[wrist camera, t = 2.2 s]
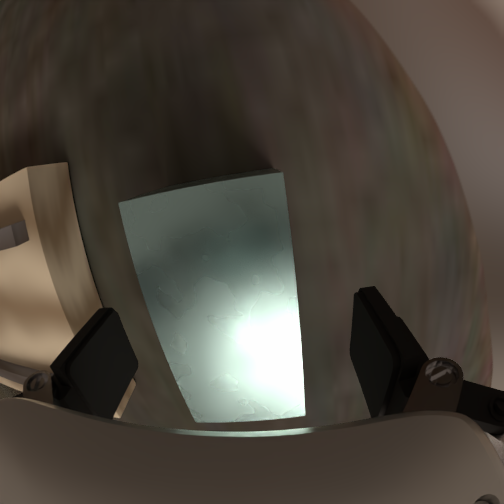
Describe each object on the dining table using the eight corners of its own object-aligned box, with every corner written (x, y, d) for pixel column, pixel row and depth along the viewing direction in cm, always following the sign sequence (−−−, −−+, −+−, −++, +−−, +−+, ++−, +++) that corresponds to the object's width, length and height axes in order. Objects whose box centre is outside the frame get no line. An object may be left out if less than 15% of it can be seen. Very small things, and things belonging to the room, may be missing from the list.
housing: (294, 349, 18) (305, 415, 13) (210, 357, 19) (195, 422, 13) (273, 168, 14) (282, 172, 9) (167, 186, 15) (118, 202, 9)
